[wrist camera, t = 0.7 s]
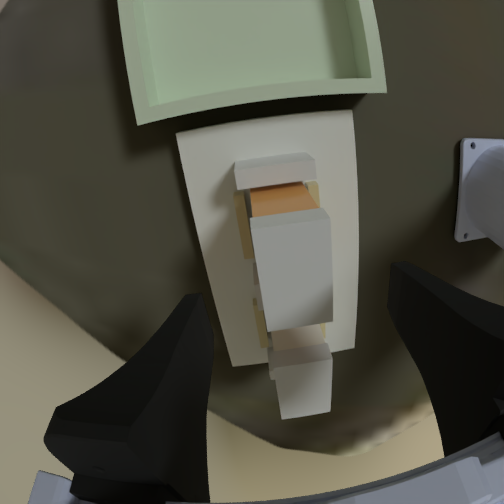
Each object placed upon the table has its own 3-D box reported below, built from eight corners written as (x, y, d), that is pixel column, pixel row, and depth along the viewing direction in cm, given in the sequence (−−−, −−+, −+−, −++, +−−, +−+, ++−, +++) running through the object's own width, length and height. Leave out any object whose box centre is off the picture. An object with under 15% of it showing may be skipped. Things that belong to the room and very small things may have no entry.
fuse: (308, 284, 21) (332, 358, 15) (312, 338, 24) (330, 411, 17) (264, 290, 21) (273, 368, 15) (273, 343, 24) (281, 419, 18)
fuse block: (346, 109, 17) (368, 112, 14) (351, 339, 25) (362, 369, 22) (178, 131, 18) (165, 138, 14) (232, 357, 26) (232, 390, 23)
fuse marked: (299, 174, 18) (330, 218, 12) (306, 251, 20) (333, 321, 14) (247, 181, 18) (250, 229, 12) (259, 258, 20) (267, 331, 14)
